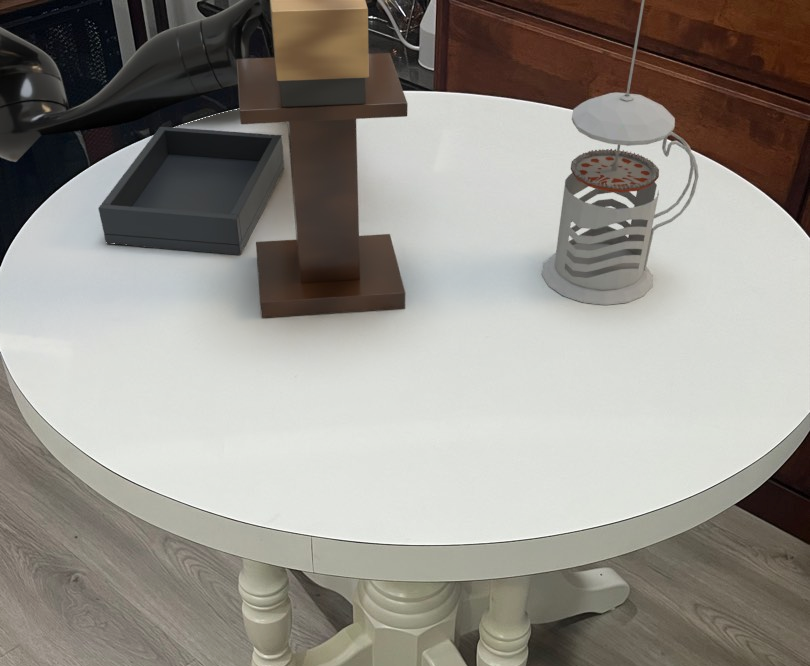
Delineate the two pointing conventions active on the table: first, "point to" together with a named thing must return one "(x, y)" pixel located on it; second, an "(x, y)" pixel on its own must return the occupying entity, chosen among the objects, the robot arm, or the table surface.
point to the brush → (320, 51)
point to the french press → (620, 173)
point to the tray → (194, 190)
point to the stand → (324, 200)
